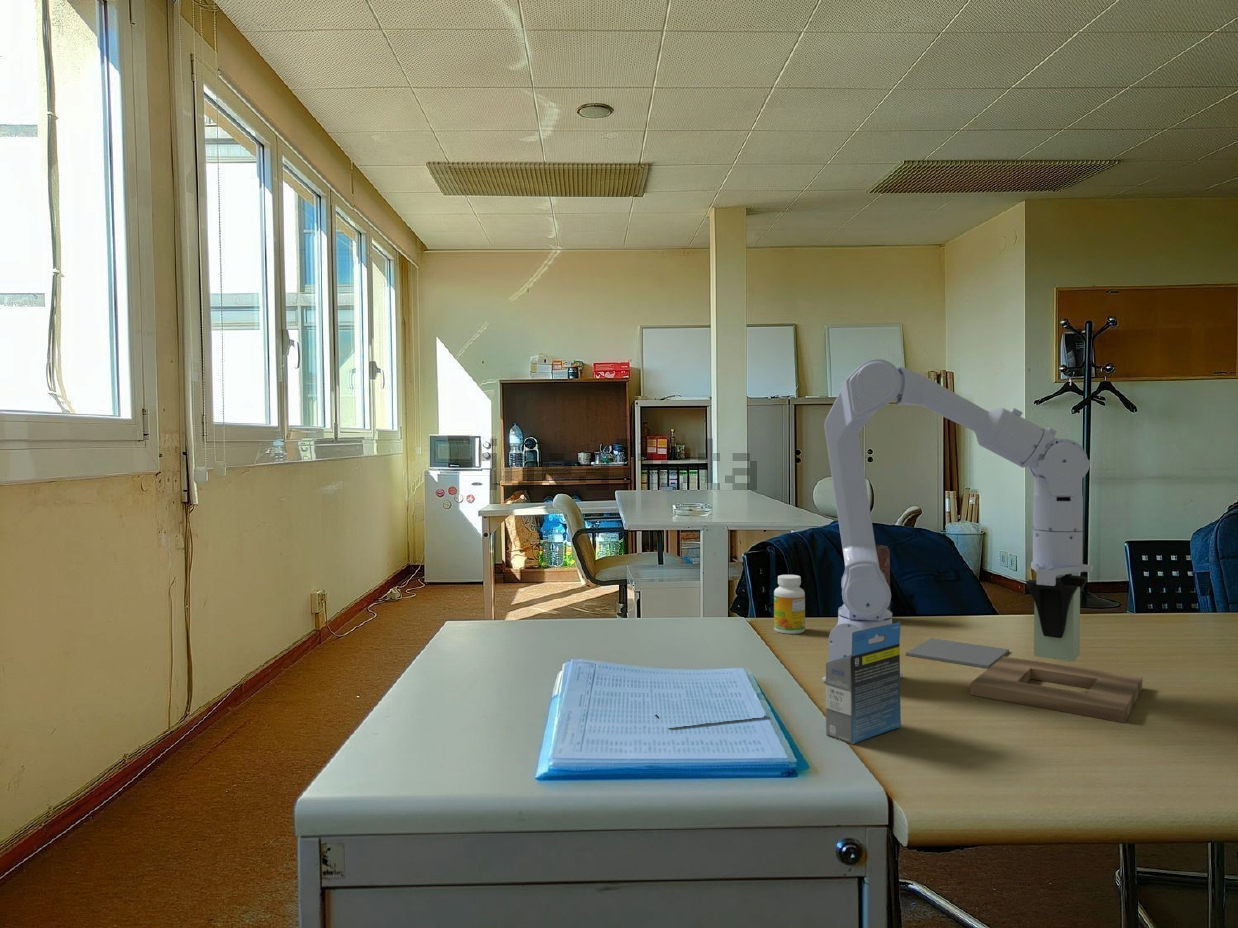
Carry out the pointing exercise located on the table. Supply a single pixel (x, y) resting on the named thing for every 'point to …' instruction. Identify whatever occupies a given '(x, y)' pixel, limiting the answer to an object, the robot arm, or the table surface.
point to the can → (884, 562)
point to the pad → (958, 652)
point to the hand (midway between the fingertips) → (1057, 633)
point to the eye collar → (1103, 700)
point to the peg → (1070, 641)
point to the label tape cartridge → (865, 687)
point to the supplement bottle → (789, 605)
